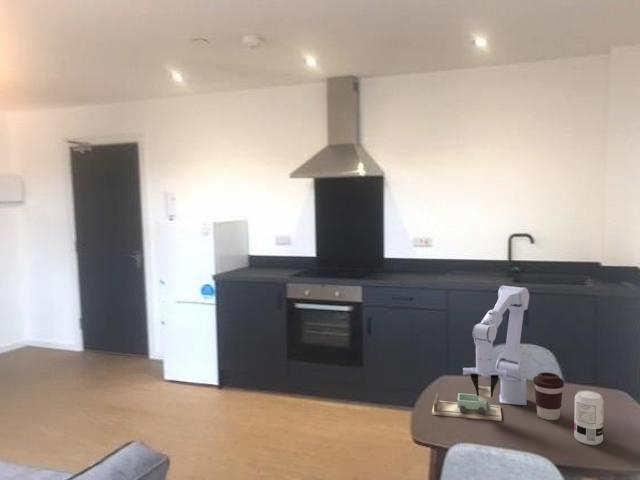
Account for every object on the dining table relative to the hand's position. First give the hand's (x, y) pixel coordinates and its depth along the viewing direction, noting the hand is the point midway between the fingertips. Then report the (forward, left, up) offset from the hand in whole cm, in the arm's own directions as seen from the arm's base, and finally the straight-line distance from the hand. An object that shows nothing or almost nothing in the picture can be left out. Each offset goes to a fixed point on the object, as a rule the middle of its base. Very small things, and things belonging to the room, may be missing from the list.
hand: (484, 395), depth 185 cm
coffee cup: (-22, -6, -9) cm, 24 cm away
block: (0, 0, -2) cm, 2 cm away
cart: (+4, -4, -7) cm, 9 cm away
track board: (+6, -4, -8) cm, 11 cm away
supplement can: (-32, +10, -9) cm, 34 cm away
